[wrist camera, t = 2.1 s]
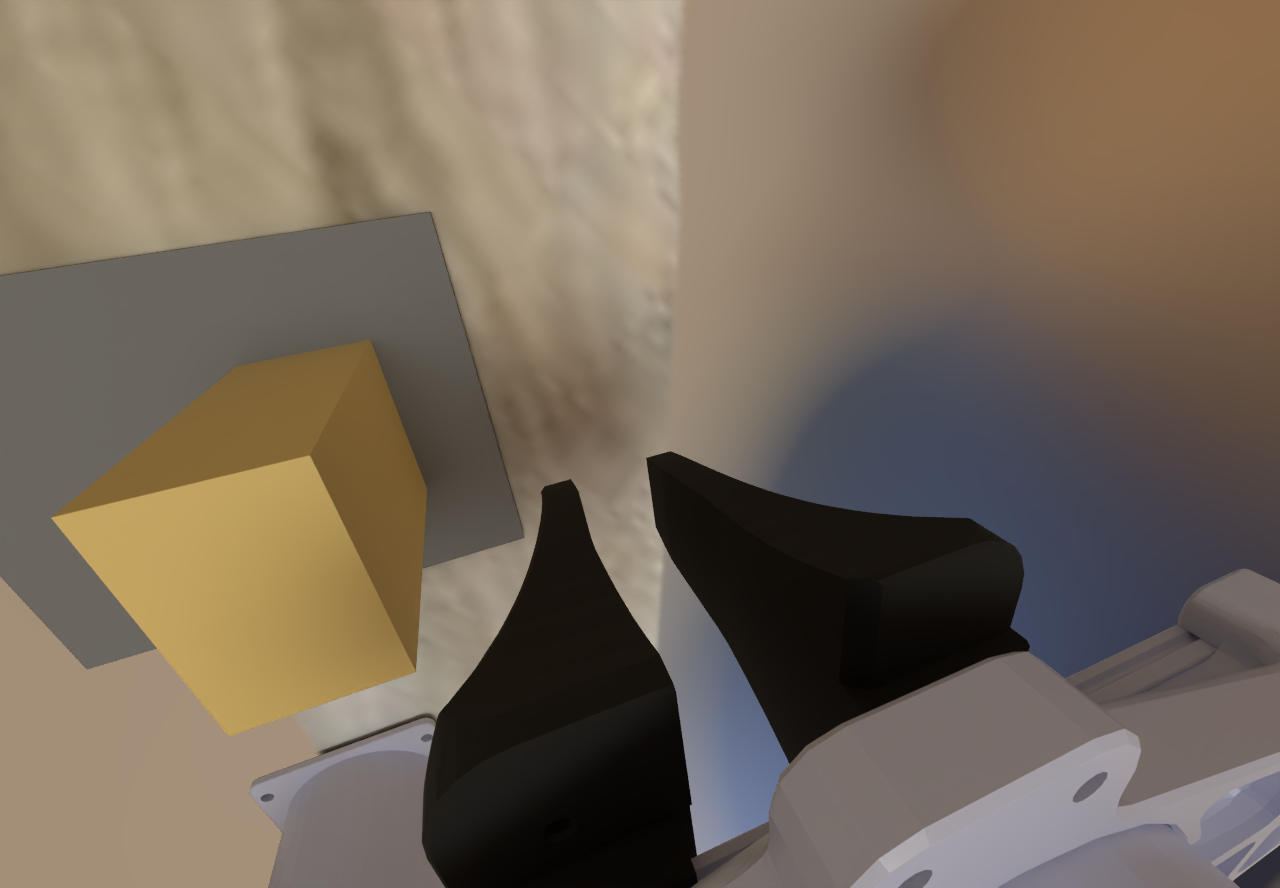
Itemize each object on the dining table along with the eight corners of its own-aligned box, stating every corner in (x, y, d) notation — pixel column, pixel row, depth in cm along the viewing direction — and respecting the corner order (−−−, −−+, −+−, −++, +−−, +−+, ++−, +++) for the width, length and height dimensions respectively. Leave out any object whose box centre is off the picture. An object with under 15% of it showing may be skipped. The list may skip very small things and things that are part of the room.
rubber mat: (523, 532, 23) (524, 537, 22) (93, 660, 19) (86, 669, 19) (430, 211, 17) (429, 212, 16) (-228, 309, 13) (-245, 312, 13)
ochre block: (427, 489, 20) (415, 671, 12) (315, 519, 19) (228, 736, 11) (370, 339, 17) (310, 455, 10) (236, 366, 16) (50, 517, 9)
